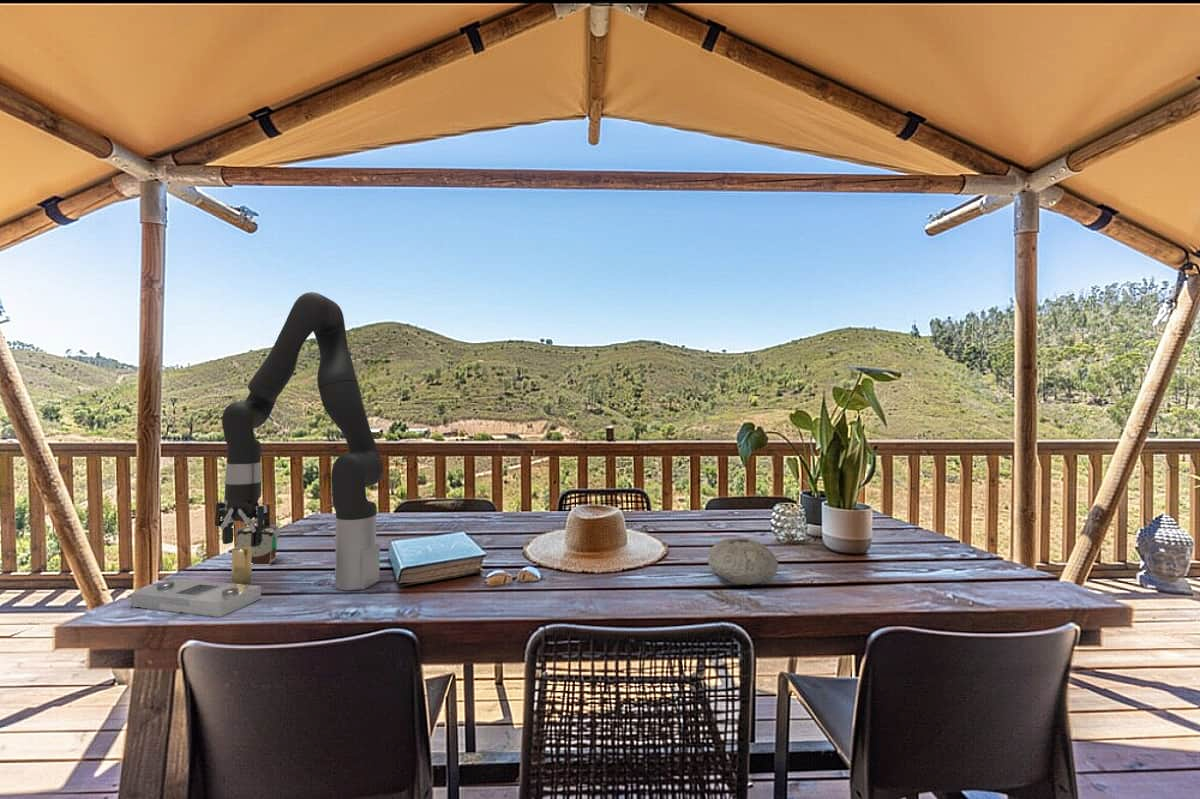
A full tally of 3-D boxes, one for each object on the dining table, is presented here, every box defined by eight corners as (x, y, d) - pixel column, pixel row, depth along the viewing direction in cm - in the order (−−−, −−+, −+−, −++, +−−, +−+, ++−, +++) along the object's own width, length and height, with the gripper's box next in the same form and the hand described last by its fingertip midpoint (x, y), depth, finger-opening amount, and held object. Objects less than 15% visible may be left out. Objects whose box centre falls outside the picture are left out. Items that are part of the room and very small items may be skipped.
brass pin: (255, 581, 126) (255, 546, 126) (240, 587, 122) (241, 551, 123) (242, 580, 127) (242, 545, 127) (227, 586, 123) (227, 549, 123)
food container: (290, 559, 145) (291, 524, 145) (274, 565, 139) (275, 530, 139) (251, 557, 146) (252, 523, 146) (234, 564, 140) (234, 528, 140)
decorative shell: (792, 587, 125) (793, 547, 125) (733, 596, 119) (733, 554, 119) (748, 565, 142) (748, 530, 142) (694, 572, 136) (694, 536, 136)
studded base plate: (260, 599, 115) (261, 583, 115) (220, 617, 106) (220, 600, 106) (177, 590, 120) (177, 575, 120) (130, 607, 110) (131, 590, 110)
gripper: (279, 480, 127) (278, 543, 127) (234, 476, 130) (232, 538, 130) (253, 484, 120) (251, 551, 120) (206, 481, 123) (204, 546, 123)
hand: (241, 544), depth 125 cm, fingers open, 8 cm apart
